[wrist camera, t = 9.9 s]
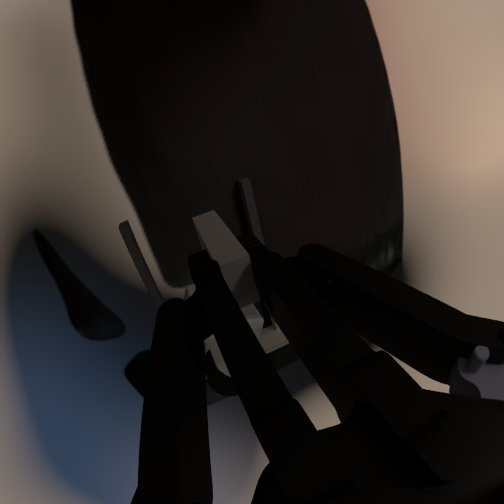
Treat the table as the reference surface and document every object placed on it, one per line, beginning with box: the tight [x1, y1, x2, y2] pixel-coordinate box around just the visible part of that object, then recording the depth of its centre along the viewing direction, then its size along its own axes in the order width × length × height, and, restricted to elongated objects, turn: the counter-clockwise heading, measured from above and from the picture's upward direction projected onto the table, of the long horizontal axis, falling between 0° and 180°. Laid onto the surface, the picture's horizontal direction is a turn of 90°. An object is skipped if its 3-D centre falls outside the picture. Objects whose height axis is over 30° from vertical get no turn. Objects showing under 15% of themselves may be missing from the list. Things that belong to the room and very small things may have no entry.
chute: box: [119, 178, 289, 379], centre depth 33 cm, size 24×15×4 cm, turn 14°
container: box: [184, 285, 264, 396], centre depth 31 cm, size 8×8×13 cm
